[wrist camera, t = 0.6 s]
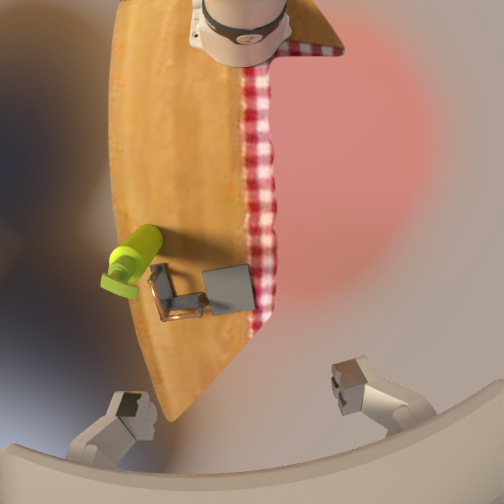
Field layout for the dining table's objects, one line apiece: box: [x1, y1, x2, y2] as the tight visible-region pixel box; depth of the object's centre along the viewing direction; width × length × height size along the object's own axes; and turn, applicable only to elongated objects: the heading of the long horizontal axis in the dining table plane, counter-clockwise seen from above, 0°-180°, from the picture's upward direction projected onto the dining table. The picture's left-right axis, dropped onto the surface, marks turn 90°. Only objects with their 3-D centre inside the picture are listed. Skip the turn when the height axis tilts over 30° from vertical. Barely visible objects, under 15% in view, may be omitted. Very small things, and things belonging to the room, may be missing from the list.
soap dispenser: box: [100, 224, 163, 300], centre depth 43 cm, size 6×7×20 cm
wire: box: [148, 263, 205, 322], centre depth 53 cm, size 10×9×6 cm
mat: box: [202, 264, 255, 316], centre depth 56 cm, size 10×9×1 cm
